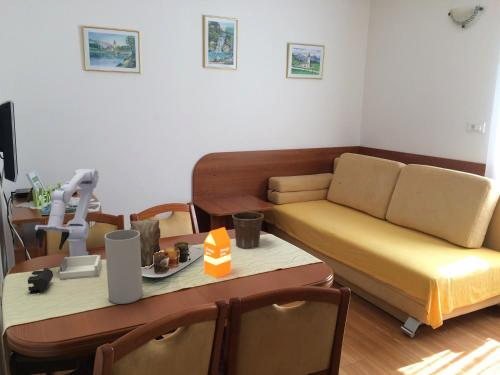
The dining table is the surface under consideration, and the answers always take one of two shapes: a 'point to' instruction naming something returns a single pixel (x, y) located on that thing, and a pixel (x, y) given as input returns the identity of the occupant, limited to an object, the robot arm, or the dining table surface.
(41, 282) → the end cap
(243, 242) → the plant pot
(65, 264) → the side door
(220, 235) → the orange juice
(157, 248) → the brown rough block
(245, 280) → the dining table surface
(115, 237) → the cylinder vase
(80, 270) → the white open tray
